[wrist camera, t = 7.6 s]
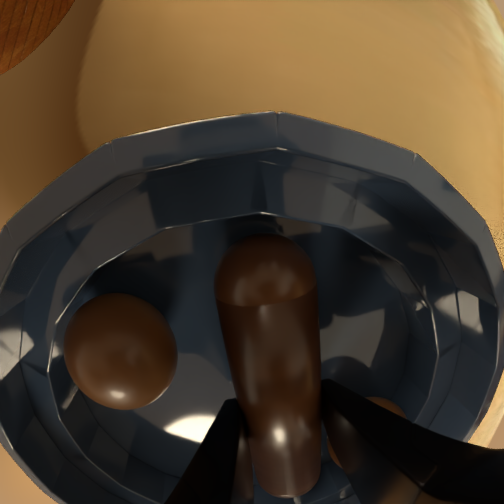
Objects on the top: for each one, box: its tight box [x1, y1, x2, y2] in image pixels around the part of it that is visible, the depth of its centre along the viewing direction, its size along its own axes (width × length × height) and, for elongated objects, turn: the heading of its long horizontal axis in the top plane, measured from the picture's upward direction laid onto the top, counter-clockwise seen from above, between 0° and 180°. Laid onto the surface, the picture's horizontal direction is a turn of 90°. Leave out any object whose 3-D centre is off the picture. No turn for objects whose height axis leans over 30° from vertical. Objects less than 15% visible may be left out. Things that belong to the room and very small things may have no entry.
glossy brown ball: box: [63, 293, 178, 410], centre depth 7 cm, size 3×3×3 cm
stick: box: [213, 233, 322, 498], centre depth 8 cm, size 10×2×2 cm, turn 8°
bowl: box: [0, 111, 504, 504], centre depth 8 cm, size 15×15×4 cm
